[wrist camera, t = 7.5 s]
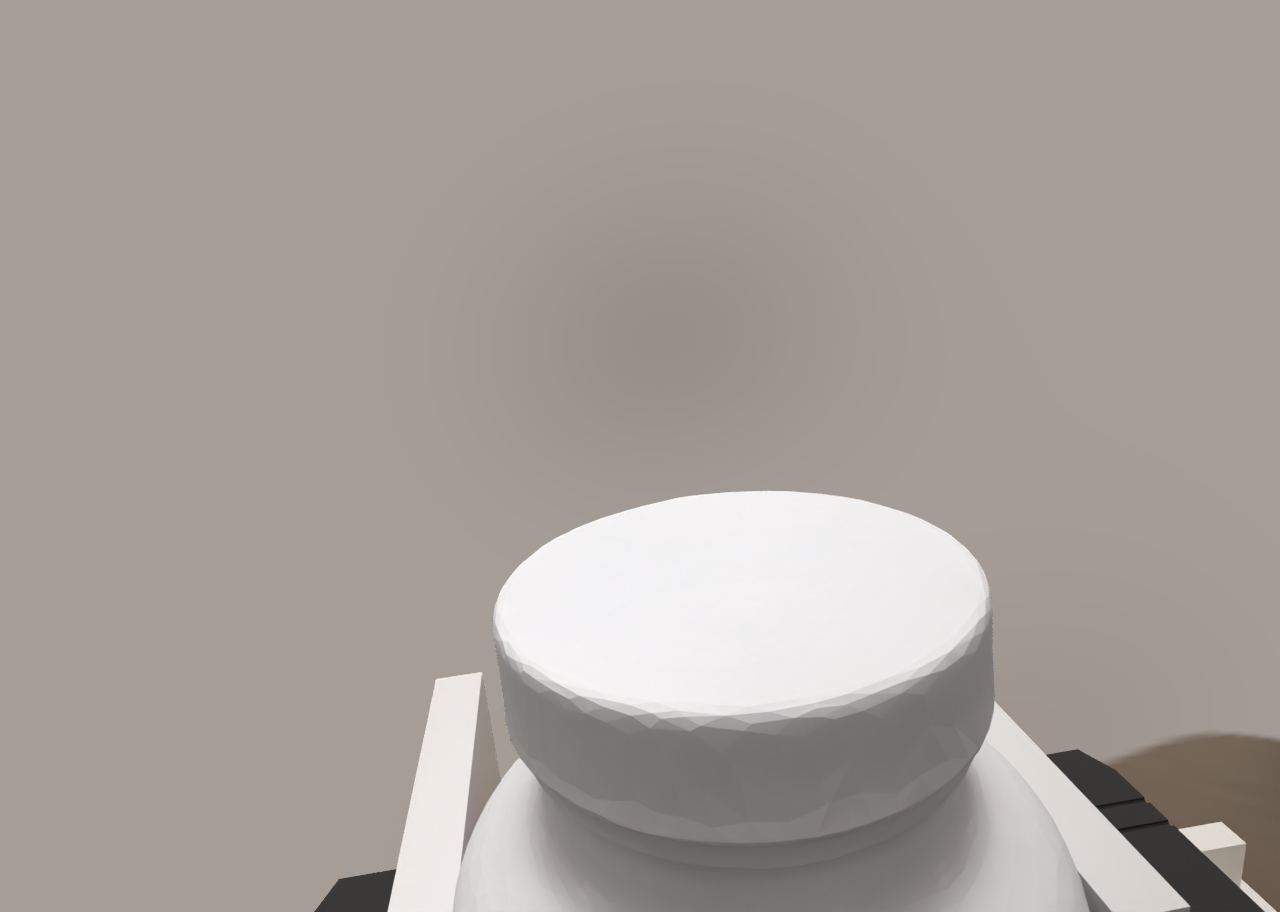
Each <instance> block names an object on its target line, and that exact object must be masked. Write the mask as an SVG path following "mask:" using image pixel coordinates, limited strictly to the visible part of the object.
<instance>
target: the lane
mask: <svg viewBox="0 0 1280 912" xmlns="http://www.w3.org/2000/svg"><path fill="white" fill-rule="evenodd" d="M1178 830H1179V831H1180V832H1181V833H1182V834H1183V835H1185V836H1186V837H1187V838H1188V839H1189V840H1190V841H1191V842H1192V843H1193V844H1194V845H1195V846H1196V847H1197V848H1198V849H1199V850H1200V851H1201V852H1202V853H1204V854H1205V855H1206V856H1207V857H1208V858H1209V859H1210V860H1211V861H1212V862H1213V863H1214V864H1215V865H1216V866H1217V867H1218V868H1219V869H1220V870H1221V871H1223V872H1224V873H1225V874H1226V875H1227V876H1228V877H1229V878H1230V879H1231V880H1232V881H1233V882H1234V883H1235V884H1236V885H1237V886H1238V887H1239V888H1240V889H1241V890H1243V891H1244V892H1245V893H1246V894H1247V895H1248V896H1249V897H1250V898H1251V899H1252V900H1253V901H1254V902H1255V903H1256V904H1257V905H1258V906H1259V907H1260V908H1262V909H1263V910H1264V911H1265V912H1276V911H1275V910H1274V909H1273V908H1272V907H1271V906H1270V905H1269V904H1268V903H1267V902H1266V901H1265V900H1263V899H1262V898H1261V897H1260V896H1259V895H1258V894H1257V893H1256V892H1255V891H1254V890H1253V889H1252V888H1250V887H1249V886H1248V885H1247V884H1246V883H1245V882H1244V881H1243V880H1242V879H1241V877H1242V870H1243V863H1244V856H1245V849H1246V843H1245V842H1244V841H1243V840H1242V839H1241V838H1239V837H1238V836H1237V835H1236V834H1235V833H1234V832H1232V831H1231V830H1230V829H1229V828H1228V827H1227V826H1226V825H1224V824H1223V823H1222V822H1217V823H1212V824H1206V825H1200V826H1194V827H1189V828H1183V829H1178Z"/></svg>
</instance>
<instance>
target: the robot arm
mask: <svg viewBox="0 0 1280 912" xmlns="http://www.w3.org/2000/svg"><path fill="white" fill-rule="evenodd" d="M985 740H986V741H987V742H988V743H989V744H991V745H992V746H993V747H994V748H995V749H996V750H997V751H998V752H1000V753H1001V754H1002V755H1003V756H1004V757H1005V758H1006V759H1007V760H1008V761H1009V762H1010V763H1011V764H1012V766H1013V767H1014V768H1015V769H1016V770H1017V771H1018V772H1019V773H1020V775H1021V776H1022V777H1023V778H1024V779H1025V780H1026V781H1027V783H1028V784H1029V785H1030V787H1031V788H1032V789H1033V791H1034V792H1035V793H1036V795H1037V796H1038V797H1039V799H1040V800H1041V802H1042V803H1043V805H1044V806H1045V808H1046V809H1047V811H1048V812H1049V814H1050V815H1051V817H1052V818H1053V820H1054V822H1055V824H1056V826H1057V828H1058V830H1059V831H1060V833H1061V835H1062V837H1063V839H1064V841H1065V843H1066V845H1067V847H1068V850H1069V852H1070V855H1071V857H1072V859H1073V862H1074V864H1075V867H1076V869H1077V871H1078V874H1079V876H1080V879H1081V881H1082V885H1083V889H1084V892H1085V896H1086V900H1087V903H1088V907H1089V911H1090V912H1265V911H1264V910H1263V909H1262V908H1260V907H1259V906H1258V905H1257V904H1256V903H1255V902H1254V901H1253V900H1252V899H1251V898H1250V897H1249V896H1248V895H1247V894H1246V893H1245V892H1244V891H1243V890H1241V889H1240V888H1239V887H1238V886H1237V885H1236V884H1235V883H1234V882H1233V881H1232V880H1231V879H1230V878H1229V877H1228V876H1227V875H1226V874H1225V873H1224V872H1223V871H1221V870H1220V869H1219V868H1218V867H1217V866H1216V865H1215V864H1214V863H1213V862H1212V861H1211V860H1210V859H1209V858H1208V857H1207V856H1206V855H1205V854H1204V853H1202V852H1201V851H1200V850H1199V849H1198V848H1197V847H1196V846H1195V845H1194V844H1193V843H1192V842H1191V841H1190V840H1189V839H1188V838H1187V837H1186V836H1185V835H1183V834H1182V833H1181V832H1180V831H1179V830H1178V829H1177V828H1176V827H1175V826H1170V825H1169V823H1168V819H1167V818H1166V817H1164V816H1163V815H1162V814H1161V813H1160V812H1159V811H1158V810H1157V809H1156V808H1155V807H1154V806H1153V805H1152V804H1151V803H1146V802H1145V800H1144V797H1143V796H1142V795H1141V794H1140V793H1139V792H1138V791H1137V790H1136V789H1135V788H1134V787H1133V786H1132V785H1131V784H1130V783H1129V782H1128V781H1126V780H1125V779H1124V778H1123V777H1122V776H1121V775H1120V774H1119V773H1118V772H1117V771H1116V770H1114V769H1112V768H1111V767H1109V766H1107V765H1105V764H1103V763H1101V762H1100V761H1098V760H1096V759H1094V758H1092V757H1090V756H1089V755H1087V754H1085V753H1083V752H1081V751H1080V750H1071V751H1066V752H1060V753H1054V754H1049V755H1045V754H1044V753H1043V752H1042V751H1041V749H1040V748H1039V747H1038V746H1037V745H1036V744H1035V743H1034V742H1033V741H1032V740H1031V739H1030V738H1029V737H1028V736H1027V735H1026V734H1025V733H1024V732H1023V731H1022V730H1021V729H1020V727H1018V725H1017V724H1016V723H1015V722H1014V721H1013V720H1012V719H1011V718H1010V717H1009V716H1008V715H1007V714H1006V713H1005V712H1004V711H1003V710H1002V709H1001V708H1000V707H999V706H998V704H997V703H996V702H995V701H994V712H993V717H992V721H991V725H990V729H989V731H988V733H987V735H986V738H985ZM500 782H501V778H500V773H499V767H498V761H497V755H496V750H495V744H494V738H493V733H492V727H491V721H490V716H489V710H488V704H487V698H486V693H485V687H484V681H483V675H482V672H480V673H473V674H467V675H460V676H454V677H447V678H441V679H436V683H435V687H434V692H433V697H432V702H431V706H430V711H429V716H428V721H427V726H426V730H425V736H424V740H423V745H422V749H421V754H420V759H419V764H418V769H417V773H416V778H415V783H414V788H413V792H412V797H411V802H410V807H409V812H408V816H407V821H406V826H405V831H404V836H403V840H402V845H401V850H400V855H399V860H398V864H397V869H395V870H389V871H383V872H377V873H372V874H366V875H360V876H354V877H348V878H343V879H339V880H338V882H337V883H336V884H335V885H334V887H333V888H332V889H331V891H330V892H329V893H328V895H327V896H326V897H325V898H324V900H323V901H322V902H321V904H320V905H319V906H318V908H317V909H316V910H315V912H453V902H454V896H455V889H456V884H457V879H458V875H459V871H460V867H461V863H462V860H463V857H464V854H465V851H466V848H467V845H468V842H469V840H470V837H471V835H472V832H473V830H474V828H475V825H476V823H477V821H478V819H479V817H480V815H481V813H482V811H483V809H484V807H485V806H486V804H487V802H488V800H489V799H490V797H491V795H492V794H493V792H494V790H495V789H496V788H497V786H498V785H499V783H500Z"/></svg>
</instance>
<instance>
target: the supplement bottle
mask: <svg viewBox="0 0 1280 912" xmlns="http://www.w3.org/2000/svg"><path fill="white" fill-rule="evenodd" d="M493 630H494V641H495V647H496V653H497V659H498V665H499V672H500V678H501V685H502V692H503V698H504V707H505V720H506V725H507V729H508V732H509V736H510V740H511V742H512V744H513V746H514V748H515V750H516V751H517V753H518V755H519V757H520V758H519V759H518V760H517V761H516V762H515V763H514V765H513V766H512V767H511V768H510V770H509V771H508V772H507V773H506V775H505V776H504V777H503V779H502V780H501V782H500V783H499V785H498V786H497V788H496V789H495V790H494V792H493V794H492V795H491V797H490V799H489V800H488V802H487V804H486V806H485V807H484V809H483V811H482V813H481V815H480V817H479V819H478V821H477V823H476V825H475V828H474V830H473V832H472V835H471V837H470V840H469V842H468V845H467V848H466V851H465V854H464V857H463V860H462V863H461V867H460V871H459V875H458V879H457V884H456V889H455V896H454V902H453V912H1090V911H1089V907H1088V903H1087V900H1086V896H1085V892H1084V889H1083V885H1082V881H1081V879H1080V876H1079V874H1078V871H1077V869H1076V867H1075V864H1074V862H1073V859H1072V857H1071V855H1070V852H1069V850H1068V847H1067V845H1066V843H1065V841H1064V839H1063V837H1062V835H1061V833H1060V831H1059V830H1058V828H1057V826H1056V824H1055V822H1054V820H1053V818H1052V817H1051V815H1050V814H1049V812H1048V811H1047V809H1046V808H1045V806H1044V805H1043V803H1042V802H1041V800H1040V799H1039V797H1038V796H1037V795H1036V793H1035V792H1034V791H1033V789H1032V788H1031V787H1030V785H1029V784H1028V783H1027V781H1026V780H1025V779H1024V778H1023V777H1022V776H1021V775H1020V773H1019V772H1018V771H1017V770H1016V769H1015V768H1014V767H1013V766H1012V764H1011V763H1010V762H1009V761H1008V760H1007V759H1006V758H1005V757H1004V756H1003V755H1002V754H1001V753H1000V752H998V751H997V750H996V749H995V748H994V747H993V746H992V745H991V744H989V743H988V742H987V741H986V740H985V738H986V735H987V733H988V731H989V729H990V725H991V721H992V717H993V712H994V697H995V695H994V673H993V652H992V597H991V591H990V588H989V585H988V582H987V579H986V576H985V573H984V571H983V569H982V568H981V566H980V564H979V562H978V561H977V560H976V559H975V558H974V557H973V555H972V554H971V553H970V552H969V551H968V550H967V549H966V548H965V547H964V546H963V545H962V544H960V543H959V542H958V541H957V540H956V539H954V538H953V537H952V536H951V535H950V534H948V533H946V532H944V531H943V530H941V529H939V528H938V527H936V526H934V525H932V524H930V523H928V522H926V521H924V520H922V519H920V518H918V517H915V516H913V515H910V514H907V513H904V512H901V511H898V510H895V509H892V508H888V507H885V506H882V505H878V504H874V503H870V502H866V501H862V500H857V499H852V498H847V497H840V496H832V495H825V494H815V493H802V492H789V491H788V492H787V491H754V492H752V491H751V492H728V493H716V494H705V495H696V496H688V497H680V498H676V499H672V500H667V501H663V502H659V503H654V504H649V505H646V506H642V507H638V508H634V509H631V510H627V511H624V512H621V513H617V514H614V515H611V516H607V517H604V518H601V519H599V520H596V521H593V522H591V523H588V524H585V525H583V526H580V527H578V528H576V529H574V530H572V531H570V532H568V533H566V534H564V535H562V536H559V537H557V538H555V539H554V540H552V541H551V542H549V543H547V544H546V545H544V546H542V547H541V548H540V549H539V550H537V551H536V552H535V553H534V554H533V555H531V556H530V557H529V558H528V559H526V560H525V561H524V562H523V563H522V564H520V565H519V567H518V568H517V569H516V570H515V571H514V572H513V574H512V575H511V576H510V578H509V579H508V580H507V582H506V583H505V584H504V586H503V588H502V590H501V592H500V594H499V596H498V599H497V602H496V604H495V607H494V617H493Z"/></svg>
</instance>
